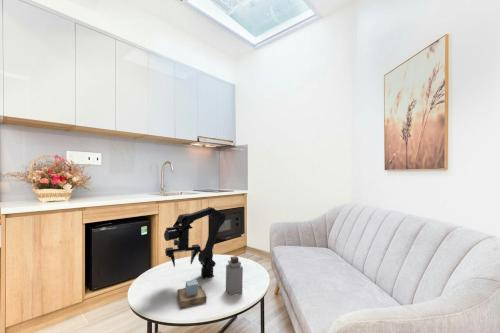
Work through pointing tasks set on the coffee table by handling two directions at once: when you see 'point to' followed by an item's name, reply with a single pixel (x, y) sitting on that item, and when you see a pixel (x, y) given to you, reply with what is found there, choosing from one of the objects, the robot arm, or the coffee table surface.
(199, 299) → the walnut plinth
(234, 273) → the perfume bottle
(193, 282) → the slate block
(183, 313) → the coffee table surface
